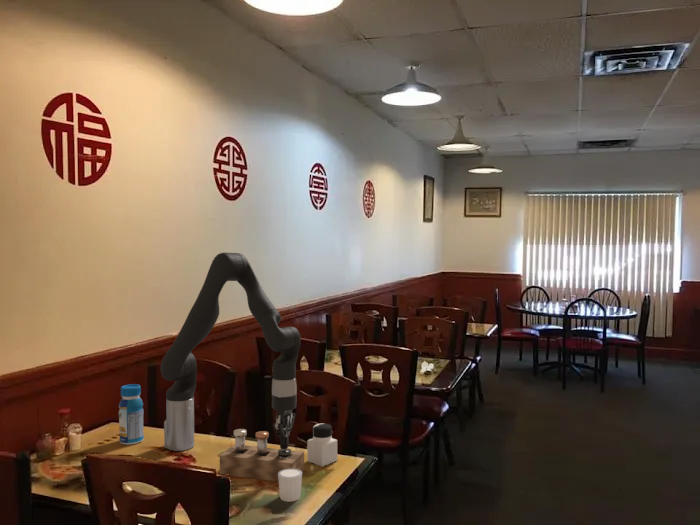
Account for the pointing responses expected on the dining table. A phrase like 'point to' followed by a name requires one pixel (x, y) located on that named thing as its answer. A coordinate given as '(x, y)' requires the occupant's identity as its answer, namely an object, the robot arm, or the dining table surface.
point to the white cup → (290, 484)
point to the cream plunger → (240, 440)
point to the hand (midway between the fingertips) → (284, 448)
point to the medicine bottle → (322, 446)
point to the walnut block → (258, 463)
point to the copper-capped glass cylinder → (262, 443)
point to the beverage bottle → (131, 415)
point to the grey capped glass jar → (284, 453)
